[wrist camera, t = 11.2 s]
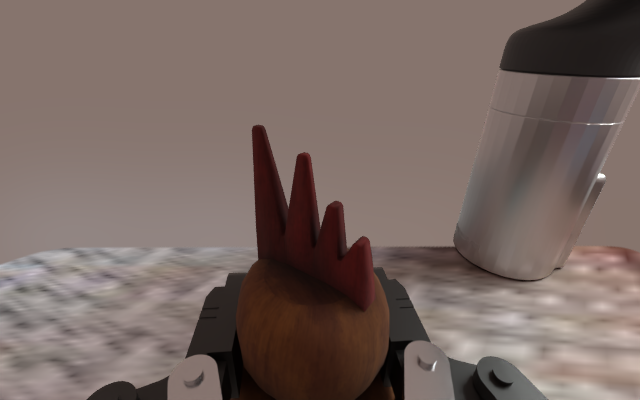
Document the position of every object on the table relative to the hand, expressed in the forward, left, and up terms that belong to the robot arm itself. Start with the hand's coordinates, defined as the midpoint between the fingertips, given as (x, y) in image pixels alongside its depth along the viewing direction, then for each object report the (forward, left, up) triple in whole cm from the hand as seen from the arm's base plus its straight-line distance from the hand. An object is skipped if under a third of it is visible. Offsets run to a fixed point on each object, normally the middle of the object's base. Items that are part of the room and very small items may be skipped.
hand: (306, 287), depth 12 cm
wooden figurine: (0, +3, -8) cm, 9 cm away
